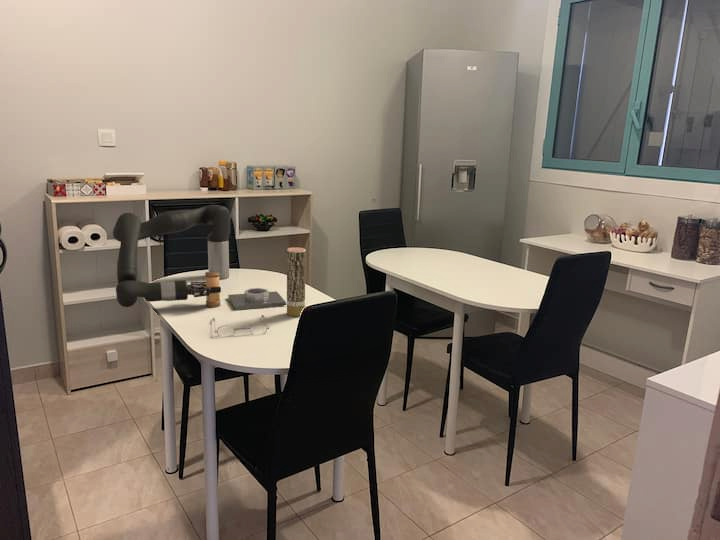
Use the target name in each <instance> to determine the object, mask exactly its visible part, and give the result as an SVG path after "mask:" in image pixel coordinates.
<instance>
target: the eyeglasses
mask: <svg viewBox="0 0 720 540" xmlns="http://www.w3.org/2000/svg"><path fill="white" fill-rule="evenodd" d="M261 317H262V318H263V320H264V322H265V324H264V323H262V322H261V323H253V324H252V325H251V326H250V327H237V328H235V327H234V326H233V325H224V327H231V328H233V330H234V331H233V333H232V334H233V335H234V334H235V332H236V331H238V330H249V332H250V334H252V333H253V332H251V327H252V326H255V325H263V326H265V331H264V332H265V333H267V331H268V330H270V327H269V325H267V321H266V319H265V316H264V314H262V315H261ZM213 322H214V326H216V322H215V318H214V317H213ZM222 327H223V325H221V326H219V327H218V328H214V333H216V334H217V335H218V336H219V335H220V334H219V329H220V328H222ZM216 329H217V330H216Z"/></svg>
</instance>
